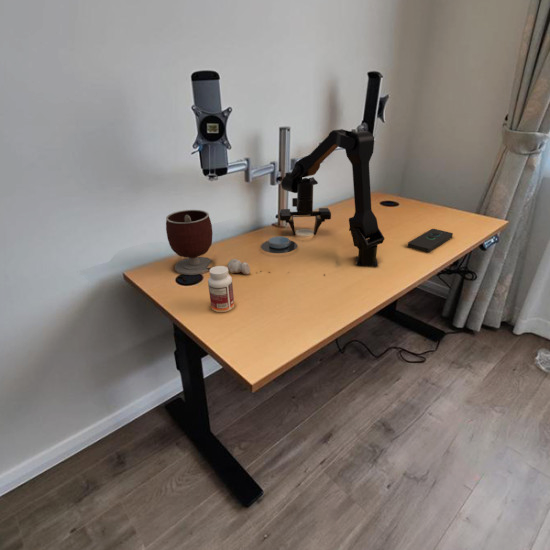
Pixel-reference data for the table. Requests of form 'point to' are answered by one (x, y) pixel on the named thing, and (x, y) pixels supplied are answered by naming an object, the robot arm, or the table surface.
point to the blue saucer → (278, 242)
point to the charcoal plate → (289, 248)
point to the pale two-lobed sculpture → (238, 266)
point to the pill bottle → (221, 289)
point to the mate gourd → (190, 239)
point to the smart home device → (430, 240)
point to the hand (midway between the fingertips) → (304, 235)
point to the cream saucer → (304, 233)
